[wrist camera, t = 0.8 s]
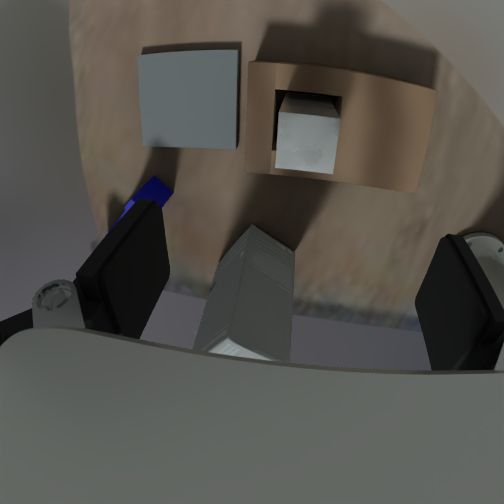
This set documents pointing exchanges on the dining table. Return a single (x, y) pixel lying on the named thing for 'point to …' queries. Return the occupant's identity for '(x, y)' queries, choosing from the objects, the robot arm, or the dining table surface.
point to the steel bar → (307, 133)
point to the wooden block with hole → (346, 123)
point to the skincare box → (250, 301)
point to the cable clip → (150, 194)
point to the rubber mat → (189, 98)
